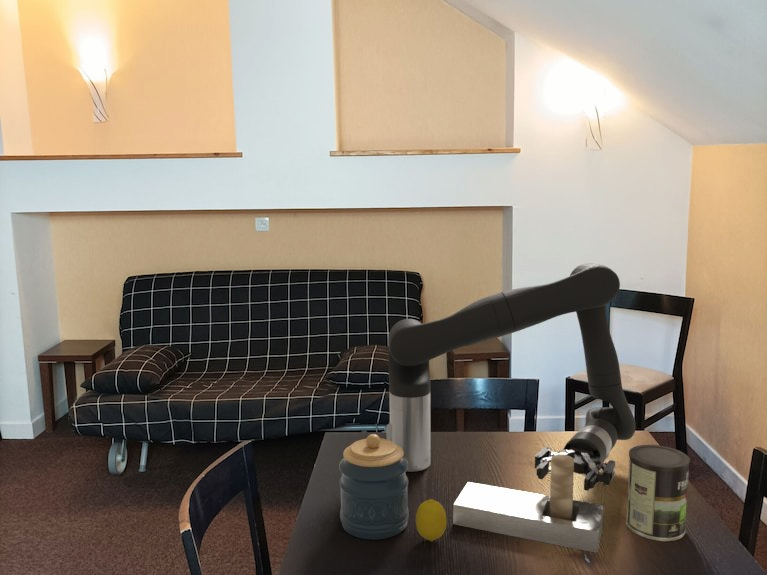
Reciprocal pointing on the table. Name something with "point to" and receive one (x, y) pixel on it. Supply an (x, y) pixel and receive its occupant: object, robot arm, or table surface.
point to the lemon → (431, 520)
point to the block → (528, 516)
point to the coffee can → (657, 492)
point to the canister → (374, 489)
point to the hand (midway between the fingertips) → (562, 479)
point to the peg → (561, 487)
